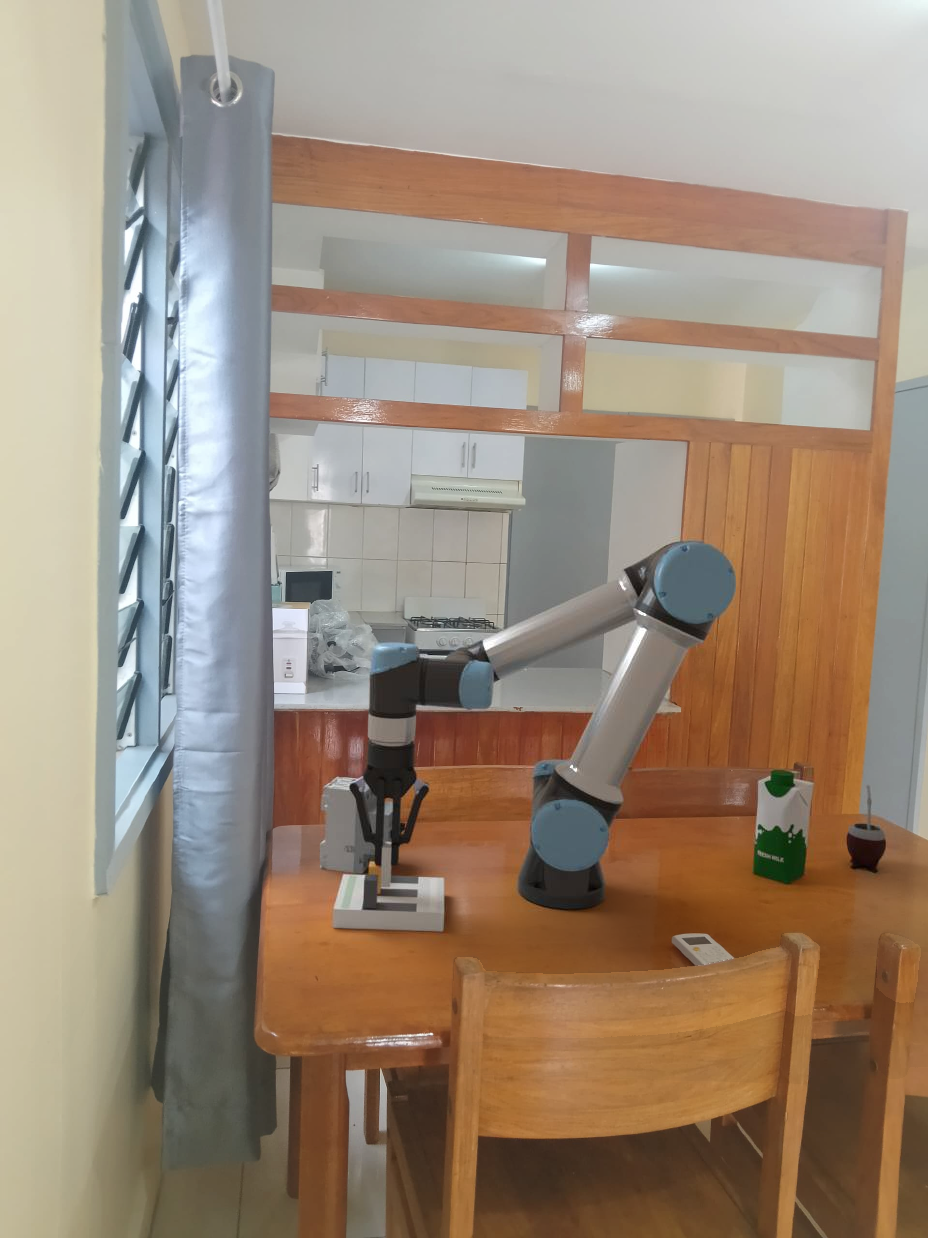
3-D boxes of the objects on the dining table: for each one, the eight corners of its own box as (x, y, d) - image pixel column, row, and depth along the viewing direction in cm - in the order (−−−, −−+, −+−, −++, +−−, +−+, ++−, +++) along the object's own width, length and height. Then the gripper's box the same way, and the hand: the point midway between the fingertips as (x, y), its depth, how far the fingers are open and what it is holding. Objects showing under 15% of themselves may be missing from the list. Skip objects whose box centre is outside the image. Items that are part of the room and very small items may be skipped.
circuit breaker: (395, 878, 158) (398, 795, 156) (319, 868, 160) (321, 787, 159) (406, 863, 165) (410, 784, 164) (333, 854, 168) (336, 776, 166)
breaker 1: (381, 875, 150) (382, 850, 150) (380, 880, 148) (381, 855, 148) (369, 874, 150) (370, 849, 150) (368, 880, 148) (369, 854, 147)
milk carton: (746, 873, 168) (754, 769, 166) (766, 862, 174) (774, 762, 173) (791, 887, 162) (800, 780, 160) (811, 875, 168) (820, 772, 167)
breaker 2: (377, 902, 139) (378, 874, 139) (376, 908, 137) (377, 880, 137) (364, 901, 139) (365, 874, 139) (363, 908, 137) (364, 880, 137)
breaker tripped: (381, 888, 145) (382, 862, 144) (380, 894, 142) (381, 867, 142) (369, 887, 145) (370, 861, 144) (367, 893, 142) (368, 867, 142)
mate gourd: (864, 875, 170) (871, 798, 168) (833, 861, 177) (839, 787, 176) (893, 871, 172) (900, 796, 171) (861, 857, 180) (868, 784, 178)
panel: (443, 895, 151) (443, 877, 151) (443, 931, 137) (444, 912, 137) (342, 891, 151) (343, 874, 150) (332, 928, 137) (333, 908, 137)
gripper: (432, 736, 145) (426, 876, 148) (352, 733, 145) (347, 873, 147) (432, 747, 138) (425, 895, 140) (347, 744, 137) (342, 892, 140)
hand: (385, 884), depth 144 cm, fingers closed
